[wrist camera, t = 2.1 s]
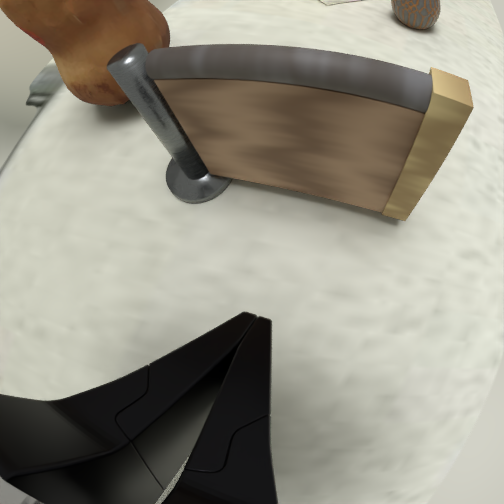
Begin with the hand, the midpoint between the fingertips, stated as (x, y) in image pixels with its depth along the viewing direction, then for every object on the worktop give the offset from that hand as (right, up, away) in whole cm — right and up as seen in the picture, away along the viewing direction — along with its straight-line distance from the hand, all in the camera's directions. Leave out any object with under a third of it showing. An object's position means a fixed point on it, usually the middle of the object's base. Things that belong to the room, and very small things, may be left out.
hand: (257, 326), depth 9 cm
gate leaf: (+4, +7, +13) cm, 15 cm away
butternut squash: (-14, +22, +23) cm, 35 cm away
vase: (+22, +34, +19) cm, 45 cm away
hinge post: (-5, +9, +17) cm, 20 cm away
